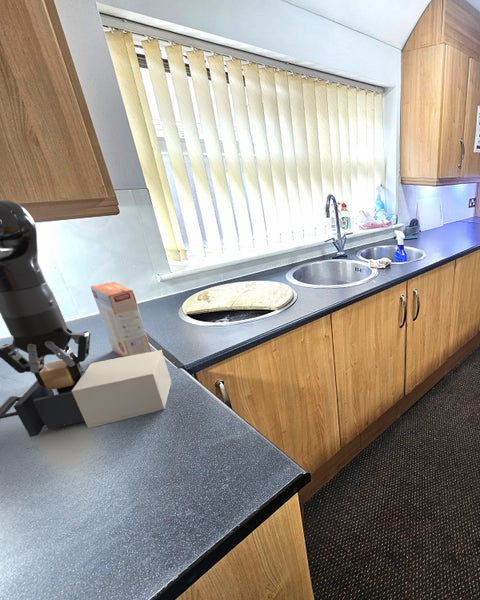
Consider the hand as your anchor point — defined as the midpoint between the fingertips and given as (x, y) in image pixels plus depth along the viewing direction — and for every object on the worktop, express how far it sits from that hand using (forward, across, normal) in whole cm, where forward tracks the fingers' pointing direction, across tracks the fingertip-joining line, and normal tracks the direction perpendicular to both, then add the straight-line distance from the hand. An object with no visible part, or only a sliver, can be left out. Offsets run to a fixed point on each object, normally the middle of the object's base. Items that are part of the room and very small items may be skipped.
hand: (63, 381), depth 69 cm
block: (0, 0, 0) cm, 0 cm away
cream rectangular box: (+9, -10, 0) cm, 13 cm away
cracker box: (+9, -4, -28) cm, 30 cm away
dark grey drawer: (+8, +2, 0) cm, 8 cm away
